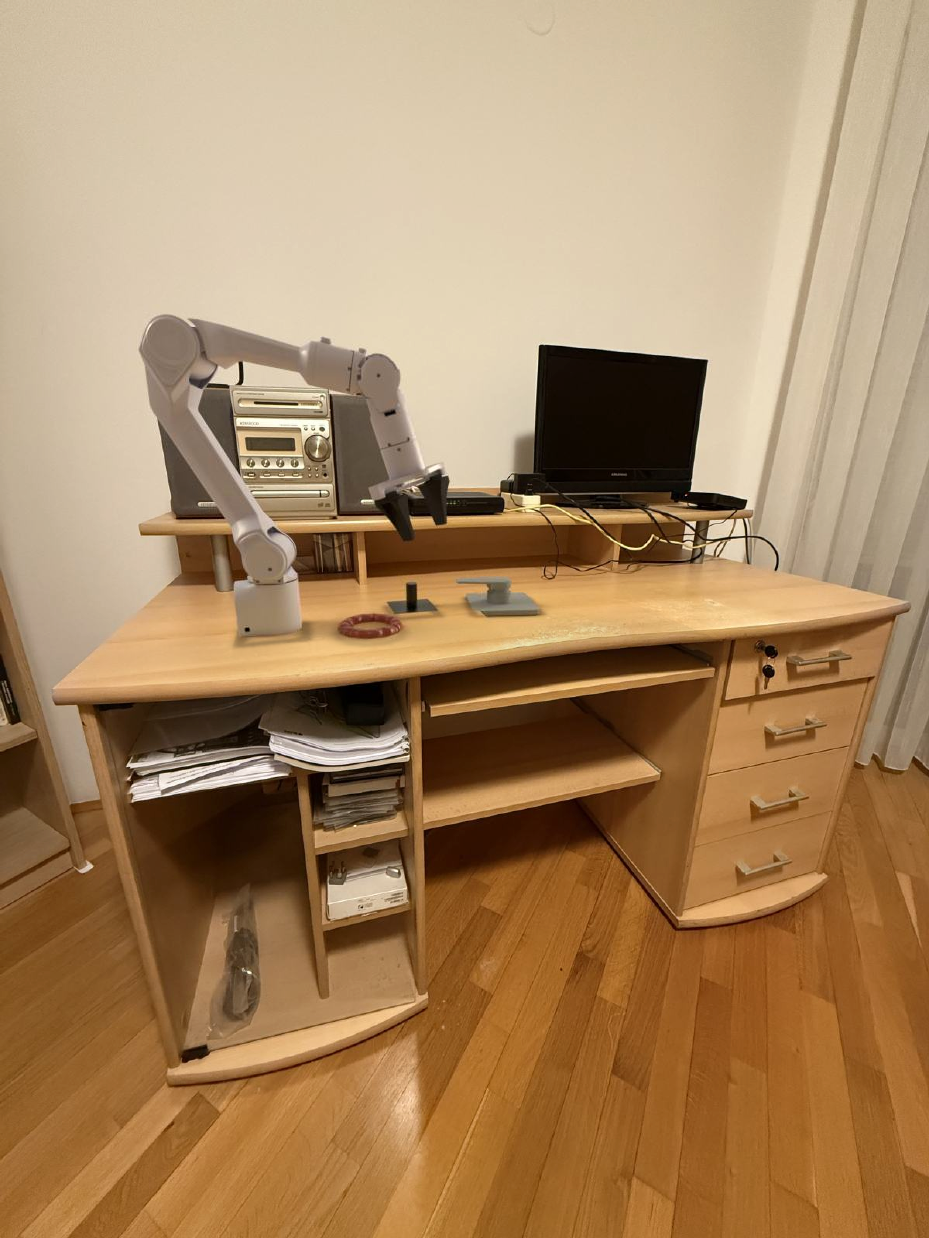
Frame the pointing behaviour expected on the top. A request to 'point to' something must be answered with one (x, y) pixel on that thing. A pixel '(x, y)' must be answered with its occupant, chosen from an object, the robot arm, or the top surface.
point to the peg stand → (411, 602)
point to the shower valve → (499, 598)
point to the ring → (349, 631)
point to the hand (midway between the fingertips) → (425, 532)
